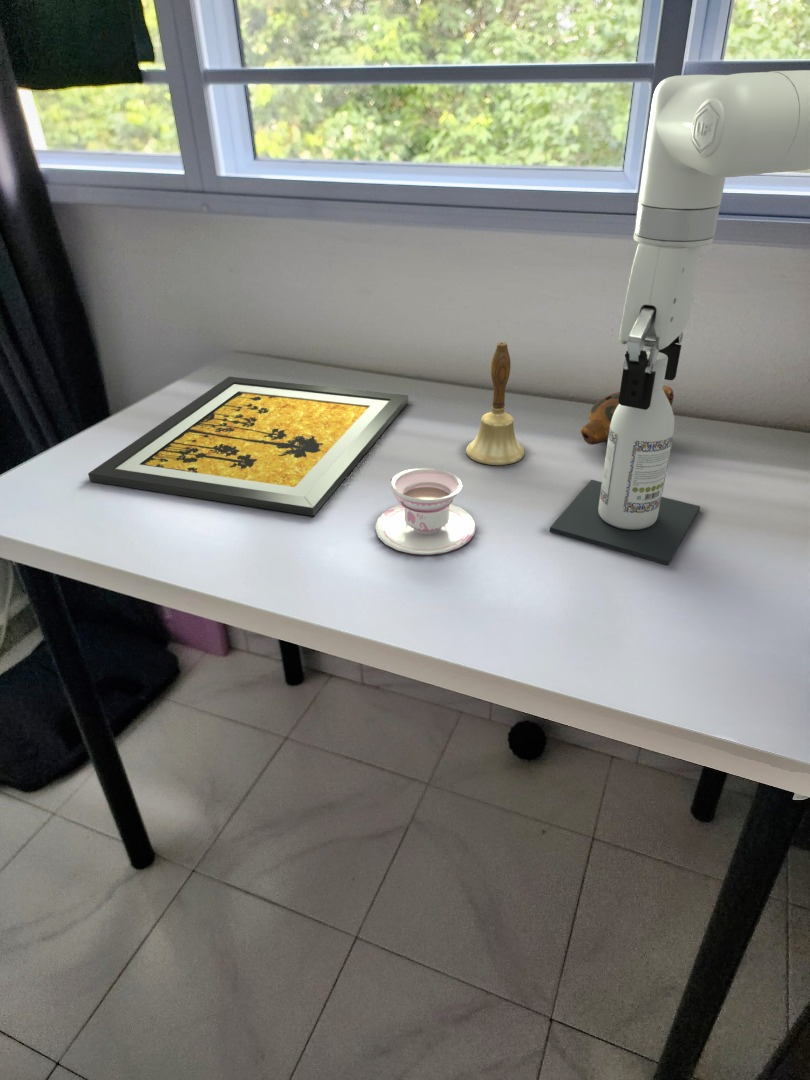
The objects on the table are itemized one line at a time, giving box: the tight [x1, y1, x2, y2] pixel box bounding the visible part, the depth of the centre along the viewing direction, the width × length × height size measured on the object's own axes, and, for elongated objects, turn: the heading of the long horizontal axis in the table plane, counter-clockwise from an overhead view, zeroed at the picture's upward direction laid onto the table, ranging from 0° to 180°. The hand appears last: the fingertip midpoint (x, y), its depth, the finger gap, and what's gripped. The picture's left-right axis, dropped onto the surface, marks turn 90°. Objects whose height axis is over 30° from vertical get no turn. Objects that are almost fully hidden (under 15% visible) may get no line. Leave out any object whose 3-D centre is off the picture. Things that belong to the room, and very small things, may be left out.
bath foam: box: [598, 350, 675, 530], centre depth 85 cm, size 7×7×20 cm
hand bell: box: [465, 341, 525, 466], centre depth 103 cm, size 8×8×16 cm
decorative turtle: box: [580, 385, 675, 445], centre depth 107 cm, size 10×15×8 cm, turn 122°
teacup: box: [374, 467, 476, 556], centre depth 88 cm, size 12×12×6 cm
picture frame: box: [87, 376, 409, 517], centre depth 112 cm, size 38×1×33 cm
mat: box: [549, 479, 701, 566], centre depth 91 cm, size 14×14×1 cm
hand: (647, 391), depth 82 cm, fingers open, 9 cm apart
